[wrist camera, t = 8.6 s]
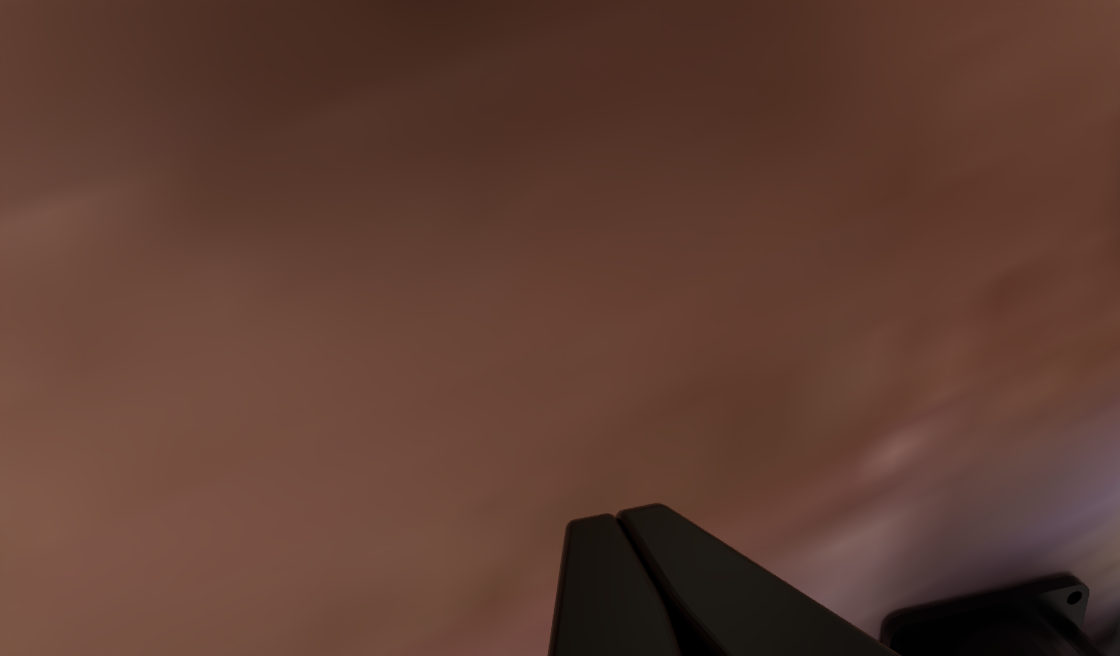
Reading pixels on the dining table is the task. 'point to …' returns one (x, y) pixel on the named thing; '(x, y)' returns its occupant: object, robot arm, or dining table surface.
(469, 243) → the dining table surface
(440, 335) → the dining table surface
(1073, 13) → the dining table surface
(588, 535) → the robot arm
